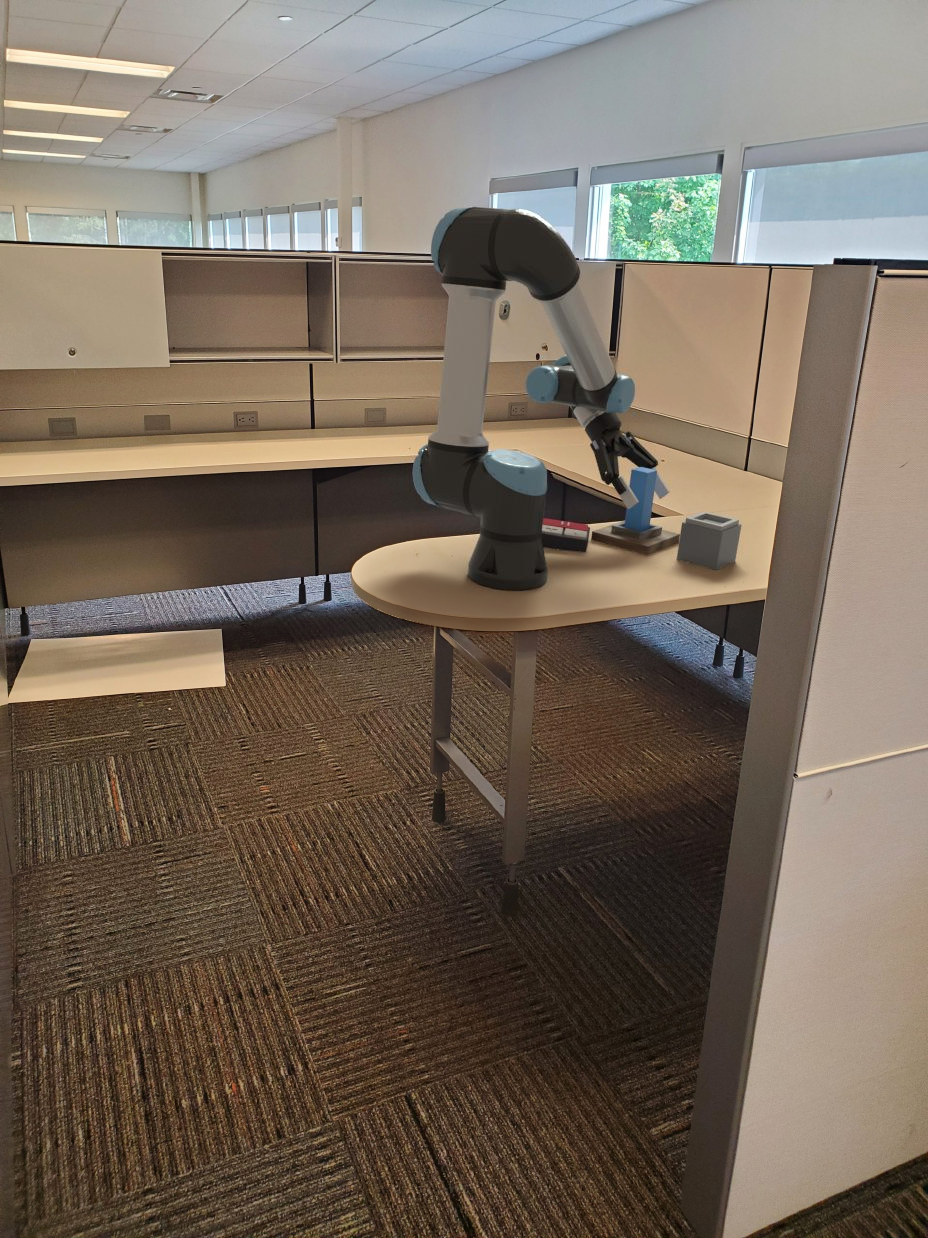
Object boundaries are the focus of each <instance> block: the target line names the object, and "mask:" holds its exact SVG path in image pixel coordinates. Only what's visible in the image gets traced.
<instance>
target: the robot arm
mask: <svg viewBox="0 0 928 1238" xmlns="http://www.w3.org/2000/svg"><path fill="white" fill-rule="evenodd" d="M430 245H431V246H430V257H431V261H433V267H434V268H435V270H436V271H437V273H439V274H440V275H441V276H442V277H441V286H442V288H443V289H444V290H445V292H446V293H447V295H448V302H447V303H448V305H447V314H446V317H447V318H446V326H445V327H446V328H445V338H444V348H443V360H442V361H443V362H442V371H441V383H440V393H439V404H438V405H439V406H438V415H437V417H438V418H437V428H436V430H434V431H433V432H432V433H431V434H429V435H428V438H427V444H425V445H423V446H422V447H421V448H420V449H419V450H418V452H417V456H415V458H414V461H413V466H412V481H413V484H414V488H415V491H416V492H417V494H418V495H419V496H420V499H422V500H423V501H424V502H426V503H427V504H429V505H433V506H436V507H437V508H440V509H443V510H449V511H454V512H459V513H461V514H466V515H470V516H473V517H478V518H480V528H479V537H478V540H477V542H476V544H475V547H474V549H473V552H472V554H471V557H470V559H469V562H468V566H467V567H468V569H467V572H468V573H467V575H468V578H469V579H470V580H471V581H473V582H475V583H477V584H478V585H482V586H485V587H489V588H493V589H499V590H508V591H510V590H511V591H519V590H520V591H521V590H522V591H523V590H524V591H525V590H530V589H536V588H538V587H542V586H543V585H545V584H546V582H547V579H548V571H549V570H548V564H547V560H546V556H545V551H544V548H543V546H542V542H541V538H542V527H543V519H544V517H545V505H546V497H547V496H546V495H547V490H548V482H547V481H548V470H547V466H545V464H544V462H543V461H542V460H541V459H539V458H538V457H536V456H535V455H532V454H529V453H526V452H522V451H518V450H510V449H507V448H506V449H505V448H504V449H503V448H502V449H501V448H496V449H492V450H489V447H490V442H489V441H488V439H487V438H486V437H485V436H484V434H483V429H484V428H483V427H484V419H485V410H486V409H485V408H486V401H487V400H486V399H487V390H488V389H487V388H488V381H489V373H490V372H489V370H490V361H491V360H490V359H491V351H492V342H493V333H494V322H495V313H496V303H497V300H498V299H499V298H500V297H502V296H503V294H505V293H506V290H507V288H506V287H507V282H516V283H519V284H521V285H523V286H525V287H526V288H527V290H528V292H529V294H530V295H531V297H532V298H533V299H535V300H536V301H538V302H540V303H541V305H542V308H543V310H544V312H545V315H546V316H547V319H548V320H549V323H550V325H551V326H552V329H553V331H554V333H555V334H556V336H557V339H558V342H559V343H560V345H561V348H562V350H563V351H564V353H565V355H562V356H561V357H559V358H557V360H556V361H554V362H553V363H552V364H551V365H547V364H544V365H540V366H536V367H533V368H532V369H531V370H529V371H530V372H528V374H527V376H526V381H525V389H526V390H525V391H526V392H527V395H528V397H529V398H530V399H531V400H532V401H534V402H536V403H541V404H549V403H554V404H559V405H565V406H568V407H570V410H571V411H572V412H573V414H574V416H575V418H576V419H577V421H578V422H579V424H580V426H581V428H584V431H585V433H586V435H587V437H588V438H589V440H590V441H591V442H590V444H589V446H590V449H591V450H592V451H593V454H594V458H595V462H596V464H597V468H598V471H599V475H600V479H601V481H602V482H604V484H605V485H606V486H609V485H612V486H613V487H614V490H615V491H616V492H617V494H618V496H619V497H620V499H621V500H622V502H623V503H624V505H625V506H626V509H627V508H628V509H630V508H631V507H633V506H634V505H635V504H637V503H638V502H639V501H638V499H637V498H636V496H635V495H634V493H633V492H632V490H631V488H630V487H629V485H630V484H628V481H627V480H626V479H625V477H624V476H623V475H621V476H620V468H619V458H620V457H621V458H624V459H625V458H626V459H627V460H629V461H630V462H631V463H632V464H634V465H635V466H637V468H639V467H644V468H648V469H653V470H657V469H656V467H658V466H659V461H658V460H657V459H656V458H655V457H654V456H653V454H651V452H649V451H648V449H646V448H645V447H644V446H643V445H642V444H641V443H640V442H639V441H638V440H637V438H635V435H633V434H632V432H631V431H629V430H627V432H626V433H624V434H623V433H622V432H621V427H622V422H621V419H620V418H619V416H618V415H617V414H624V413H626V412H627V411H628V410H629V409H630V408H631V407H632V404H633V402H634V398H635V395H636V385H635V382H634V379H633V378H631V376H628V375H624V374H622V373H621V374H618V373H617V371H616V368H615V366H614V364H613V361H612V359H611V356H610V354H609V352H608V349H607V347H606V345H605V341H604V340H603V337H602V334H601V332H600V330H599V327H598V324H597V322H596V320H595V317H594V315H593V312H592V310H591V308H590V305H589V304H588V301H587V298H586V296H585V293H584V291H583V289H582V287H581V284H580V279H581V274H582V273H581V269H580V266H579V263H578V261H577V258H576V257H575V254H574V252H573V250H572V249H571V248H570V246H569V244H568V243H567V242H566V240H565V239H564V237H563V236H562V235H561V233H559V231H557V229H555V227H554V226H553V225H551V223H549V221H547V220H546V219H545V218H543V217H542V216H540V215H538V214H537V213H534V212H533V211H530V210H528V209H521V208H512V209H510V208H495V207H494V208H493V207H480V206H479V207H478V206H469V207H457V208H453V209H450V210H449V211H447V212H446V213H445V214H444V216H443V217H442V218H440V220H439V221H438V223H437V225H436V226H435V228H434V231H433V234H432V238H431V244H430ZM654 493H656V495H657V497H658V499H659V500H662V499H663V498H665V497H666V496H667V495H668V494H670V493H671V491H670V489H669V488H668V486H667V484H666V483H665V481H664V480H663V478H662V476H661V475H660V473H659V472H658V471H657V476H656V483H655V490H654Z"/></svg>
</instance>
